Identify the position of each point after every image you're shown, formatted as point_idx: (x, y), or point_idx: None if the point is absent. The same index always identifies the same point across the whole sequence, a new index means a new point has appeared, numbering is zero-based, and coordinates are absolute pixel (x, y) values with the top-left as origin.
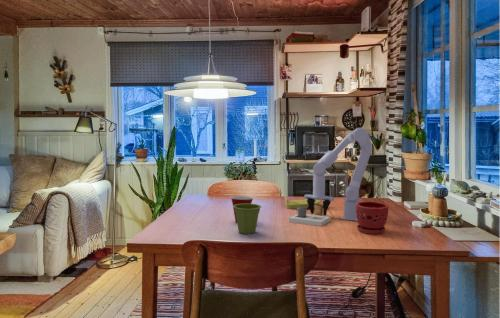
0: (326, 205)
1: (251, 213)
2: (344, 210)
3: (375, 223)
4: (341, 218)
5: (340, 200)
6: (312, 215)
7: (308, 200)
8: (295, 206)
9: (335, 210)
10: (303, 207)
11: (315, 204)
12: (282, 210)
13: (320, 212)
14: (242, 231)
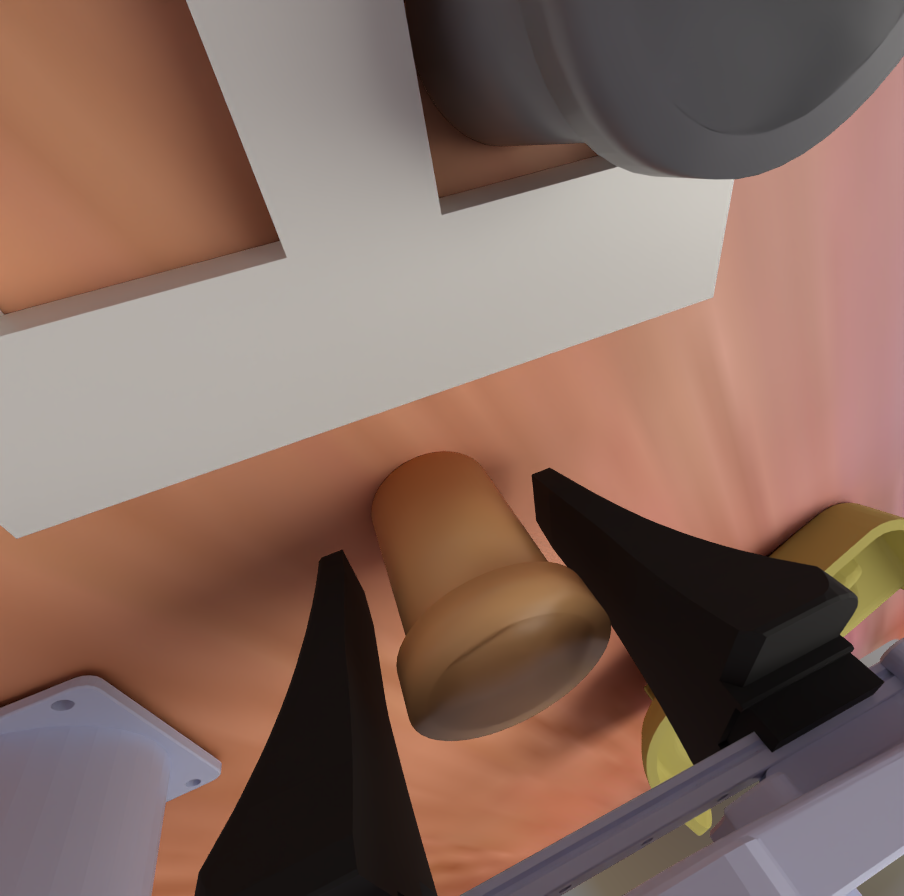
0: (246, 785)
1: None
2: (42, 874)
3: None
4: (79, 683)
5: (587, 823)
6: (417, 327)
7: (814, 621)
8: (804, 558)
9: (479, 751)
10: (777, 112)
11: (597, 656)
12: (888, 415)
13: (399, 557)
14: None
